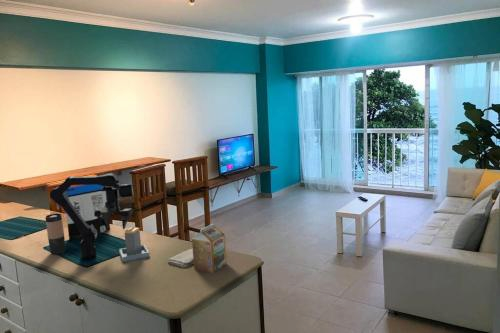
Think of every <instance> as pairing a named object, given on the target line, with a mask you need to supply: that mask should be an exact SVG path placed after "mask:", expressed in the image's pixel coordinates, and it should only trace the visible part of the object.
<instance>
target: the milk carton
mask: <svg viewBox="0 0 500 333" xmlns="http://www.w3.org/2000/svg"><path fill="white" fill-rule="evenodd" d="M191 243H192V245H191V246H192V249H193V260H194V264H193V269H195V270H199V271H203V272H208V273H212V274H213V273H215V272H216V271H218V270H220V269H221V268H224V266H227V264H228V263H227V249H226V248H227V247H226V234H225V233H224V232H223V231H222V230H221V229H220V228H219V227H217V226H216V223H212V224H209V225H207V226H205V227H203V228H201V229H200V231H199V233H197V234H195V235H194V236H193V237H192V238H191Z"/></svg>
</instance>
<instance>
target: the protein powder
mask: <svg viewBox="0 0 500 333" xmlns="http://www.w3.org/2000/svg"><path fill="white" fill-rule="evenodd" d="M103 187H104V186H101V185H97V184H94V185H74V186H70V187H69V188H68V189H67V190H66V193H67V195H68V198H69V201H70V202H71V204H72V205H73V206H74V208H75V209H76V210H77V212H78V213H79V214H80V216H81V217H82V218H83V220H84V221H85V222H86V223H87V224H88V225H89V226H91V225H92V224H93V226H94V228H95V229H96V230H97V231H96V232H97V234H99V233H102V234H104V233H106V232H107V230H108V231H110V230H111V225H110V217H108V229H106V227H105V226H104V224H103V222H102V220H101V219H99V218H97V217H95V216H94V212H95V211H96V210H98V209H100V208H104V207H105V202H107V201H106V192H105V191H101V190H102V188H103ZM65 215H66V221H67V222H66V223H67V230H68V231H67V232H68V240H69V241H70V239H71V240H76V239H75V238H81V239H82V237H81V234H80V231H79V229H78V227H77V226H76V225H75V224H74V222H73V221H72V220H71V218H70V217H69V216H68V214H67V213H66V212H65ZM109 229H110V230H109ZM103 232H104V233H103ZM99 235H100V234H99Z"/></svg>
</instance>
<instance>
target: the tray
mask: <svg viewBox="0 0 500 333" xmlns="http://www.w3.org/2000/svg"><path fill="white" fill-rule="evenodd" d="M118 250H119V255H120V257H121V261H122V263H128V262H132V261H138V260H142V259H147V258H150V251H149V250H148V248H147V246H146V244H141V251H142V252H141V253H139V254H134V255H129V256H127V253H126V247H124V248H119V249H118Z"/></svg>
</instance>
